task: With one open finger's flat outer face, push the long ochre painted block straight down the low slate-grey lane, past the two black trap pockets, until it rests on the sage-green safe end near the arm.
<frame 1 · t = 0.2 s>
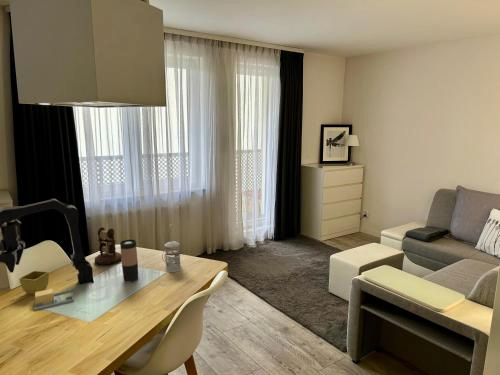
hand: (14, 268, 157), 14 cm above the table, fingers open, 9 cm apart
brown sculpture: (108, 261, 202), on the table
ochre block: (45, 300, 155), point 1 cm above the table, touching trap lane
flower pot: (36, 293, 164), on the table
french press: (172, 269, 189), on the table
travel mug: (131, 279, 177), on the table
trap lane: (54, 299, 157), on the table
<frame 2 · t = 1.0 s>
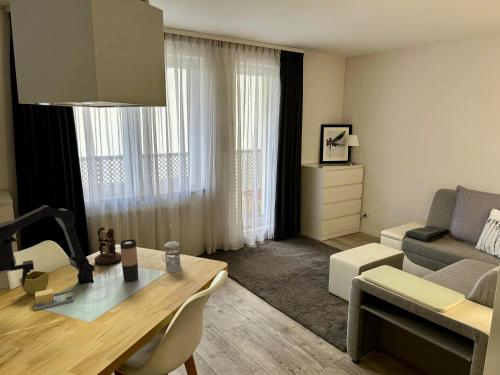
hand: (10, 288, 148), 10 cm above the table, fingers open, 9 cm apart
nothing on the table moved.
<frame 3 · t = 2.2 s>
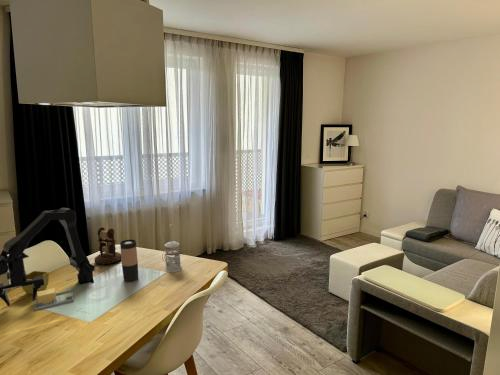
hand: (21, 303, 151), 2 cm above the table, fingers open, 9 cm apart
ochre block: (47, 300, 156), point 1 cm above the table, touching gripper, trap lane
everything else where it was.
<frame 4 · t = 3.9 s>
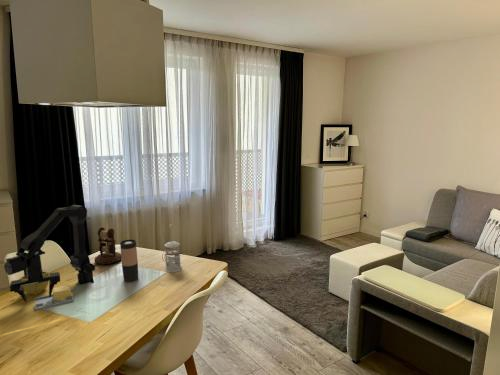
hand: (38, 299, 154), 2 cm above the table, fingers open, 9 cm apart
ochre block: (62, 296, 159), point 1 cm above the table, touching gripper, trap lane
everything else where it was.
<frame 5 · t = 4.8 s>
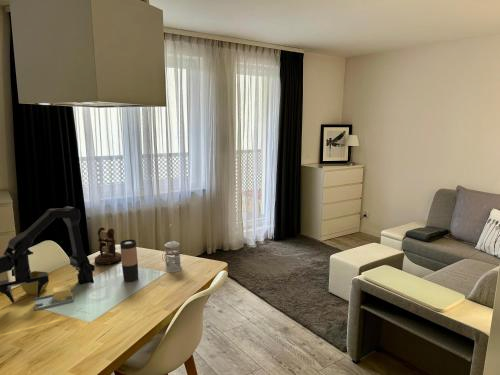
hand: (26, 300, 151), 3 cm above the table, fingers open, 9 cm apart
ochre block: (62, 296, 159), point 1 cm above the table, touching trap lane
everything else where it was.
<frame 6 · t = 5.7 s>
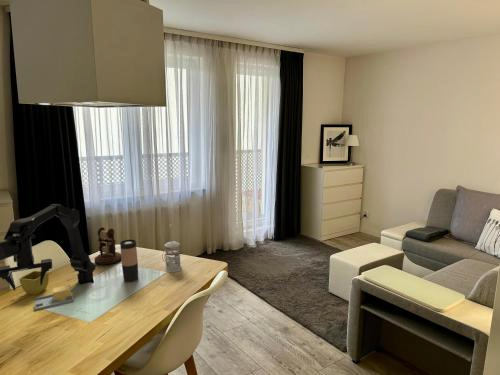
hand: (28, 287, 143), 12 cm above the table, fingers open, 9 cm apart
nothing on the table moved.
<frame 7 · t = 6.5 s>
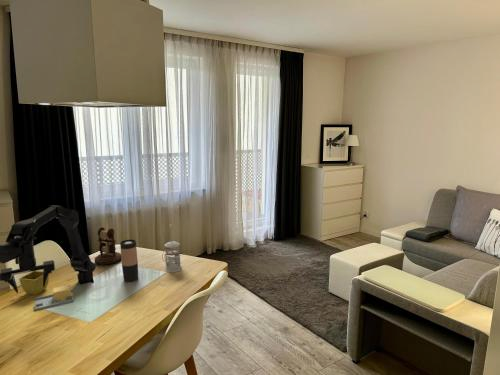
hand: (30, 289, 142), 12 cm above the table, fingers open, 9 cm apart
nothing on the table moved.
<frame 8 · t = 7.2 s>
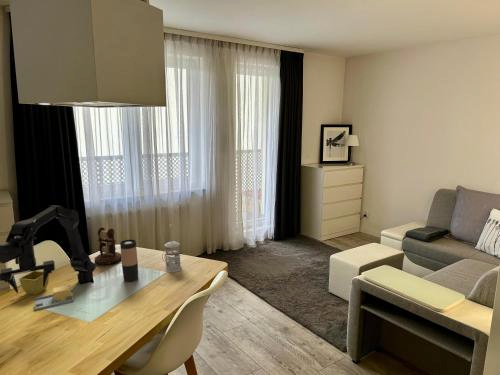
hand: (30, 289, 142), 12 cm above the table, fingers open, 9 cm apart
nothing on the table moved.
at the end: ochre block 0.6 cm from the target spot on the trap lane, point 0.6 cm above the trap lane's base; ochre block tilted 0°; ochre block moved 6.8 cm from its start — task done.
